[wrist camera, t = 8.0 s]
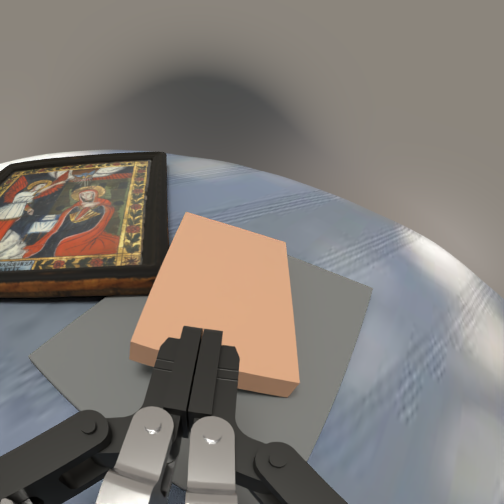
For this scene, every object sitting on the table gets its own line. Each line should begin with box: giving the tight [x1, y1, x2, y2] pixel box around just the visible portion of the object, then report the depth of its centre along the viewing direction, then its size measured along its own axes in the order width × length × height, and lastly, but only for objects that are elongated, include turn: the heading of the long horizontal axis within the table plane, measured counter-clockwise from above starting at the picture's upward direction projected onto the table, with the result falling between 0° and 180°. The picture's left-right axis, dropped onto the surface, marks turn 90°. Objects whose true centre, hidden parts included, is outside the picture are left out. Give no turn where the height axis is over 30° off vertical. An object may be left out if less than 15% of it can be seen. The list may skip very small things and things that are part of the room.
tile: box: [129, 212, 300, 397], centre depth 24 cm, size 2×10×16 cm
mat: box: [28, 255, 373, 504], centre depth 24 cm, size 19×24×1 cm
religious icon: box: [0, 152, 169, 298], centre depth 34 cm, size 38×35×3 cm
